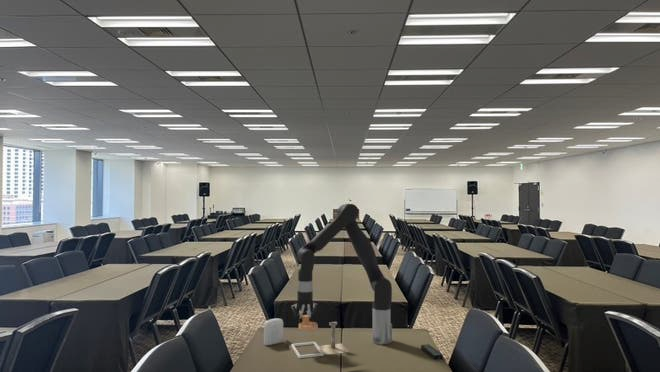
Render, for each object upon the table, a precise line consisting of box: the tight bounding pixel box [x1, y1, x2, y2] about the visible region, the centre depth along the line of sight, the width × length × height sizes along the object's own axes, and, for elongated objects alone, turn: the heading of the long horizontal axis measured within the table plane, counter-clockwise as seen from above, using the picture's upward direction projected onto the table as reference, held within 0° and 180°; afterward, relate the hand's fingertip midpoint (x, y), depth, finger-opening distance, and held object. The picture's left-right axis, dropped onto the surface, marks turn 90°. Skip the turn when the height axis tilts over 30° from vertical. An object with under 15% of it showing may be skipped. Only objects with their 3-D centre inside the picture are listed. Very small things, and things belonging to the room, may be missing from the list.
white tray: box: [291, 341, 325, 359], centre depth 196 cm, size 12×16×2 cm
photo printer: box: [263, 317, 284, 346], centre depth 211 cm, size 10×4×12 cm, turn 123°
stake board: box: [318, 321, 351, 356], centre depth 199 cm, size 12×12×14 cm
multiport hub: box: [420, 343, 444, 361], centre depth 197 cm, size 4×14×2 cm, turn 12°
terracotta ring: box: [298, 314, 319, 332], centre depth 197 cm, size 8×13×4 cm
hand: (304, 325), depth 201 cm, fingers closed on terracotta ring, 3 cm apart
